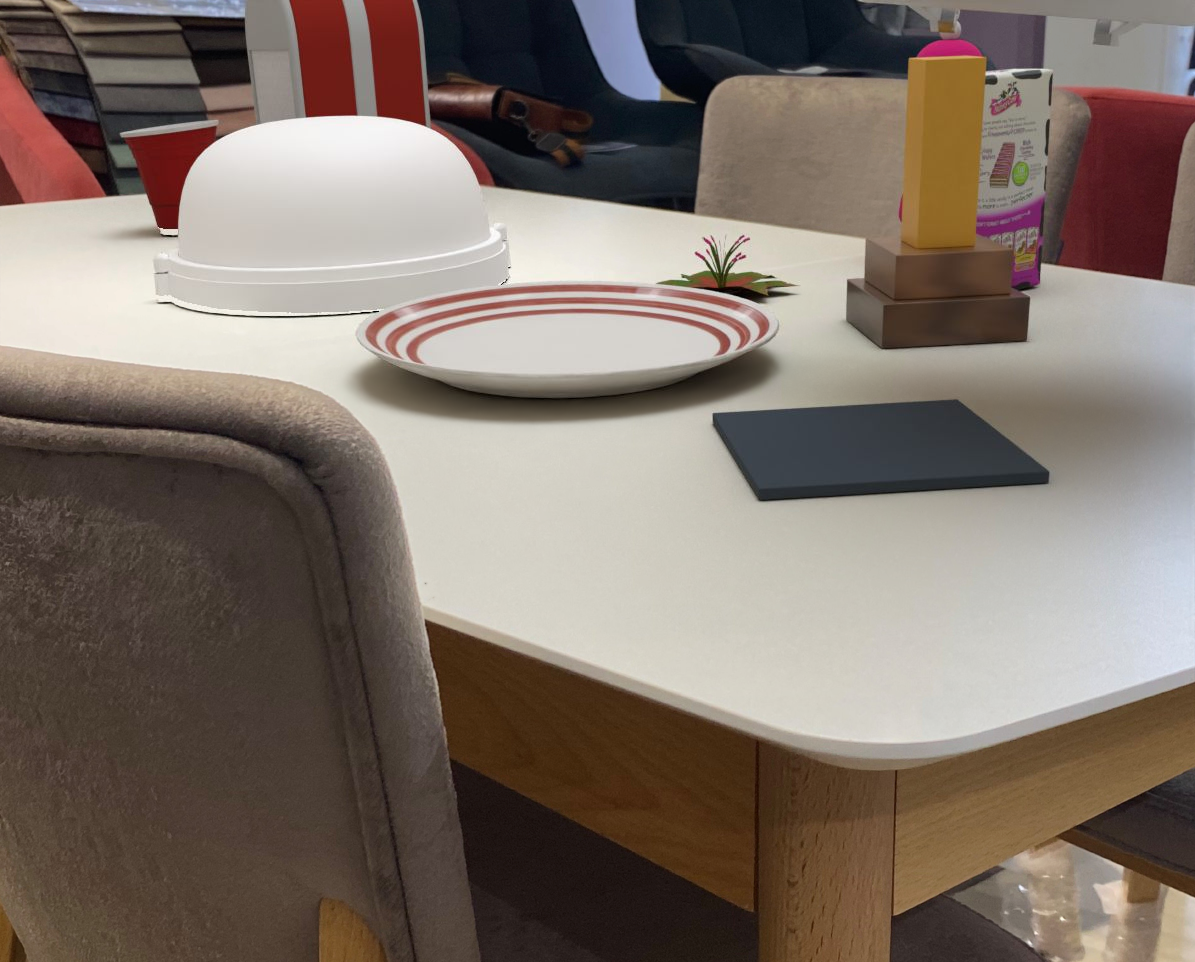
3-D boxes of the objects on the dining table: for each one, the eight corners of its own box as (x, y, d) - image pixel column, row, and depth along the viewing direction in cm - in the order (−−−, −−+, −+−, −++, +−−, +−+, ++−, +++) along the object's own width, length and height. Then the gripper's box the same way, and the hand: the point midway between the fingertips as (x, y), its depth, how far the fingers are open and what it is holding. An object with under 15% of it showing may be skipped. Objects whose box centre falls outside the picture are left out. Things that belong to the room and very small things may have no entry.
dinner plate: (864, 356, 94) (865, 305, 93) (558, 447, 77) (555, 387, 76) (576, 309, 113) (575, 266, 111) (278, 375, 95) (272, 325, 94)
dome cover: (461, 246, 146) (451, 100, 141) (569, 290, 120) (562, 114, 115) (137, 277, 135) (113, 120, 130) (180, 333, 109) (152, 141, 104)
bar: (956, 237, 101) (967, 55, 96) (975, 246, 97) (986, 57, 93) (900, 240, 101) (908, 58, 96) (917, 249, 97) (926, 59, 92)
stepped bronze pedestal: (978, 313, 106) (984, 230, 104) (1027, 341, 97) (1034, 250, 94) (845, 320, 105) (848, 236, 103) (881, 349, 96) (885, 258, 94)
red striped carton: (439, 200, 183) (422, -30, 173) (309, 214, 175) (283, -27, 165) (386, 190, 197) (367, -24, 186) (262, 203, 188) (235, -21, 178)
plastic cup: (153, 228, 169) (137, 120, 164) (244, 224, 168) (230, 117, 164) (121, 241, 159) (103, 128, 154) (217, 238, 158) (202, 124, 154)
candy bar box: (991, 279, 118) (1005, 68, 112) (1041, 286, 115) (1058, 68, 108) (897, 298, 112) (906, 75, 106) (947, 306, 109) (959, 76, 102)
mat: (956, 409, 81) (957, 398, 81) (1049, 483, 68) (1050, 470, 68) (712, 423, 80) (712, 412, 80) (759, 500, 68) (759, 488, 67)
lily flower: (620, 292, 119) (619, 236, 117) (737, 275, 125) (736, 221, 123) (705, 313, 109) (705, 252, 108) (827, 294, 115) (828, 235, 113)
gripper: (1262, -159, 69) (1222, -11, 82) (844, -175, 75) (869, -35, 88) (1237, -35, 69) (1200, 94, 82) (819, -61, 75) (847, 63, 88)
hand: (1025, 27), depth 85 cm, fingers open, 8 cm apart
